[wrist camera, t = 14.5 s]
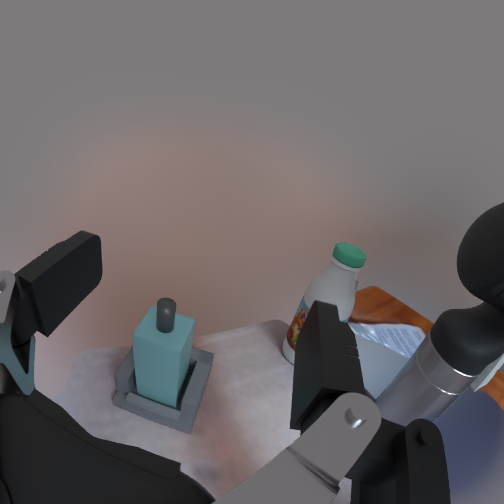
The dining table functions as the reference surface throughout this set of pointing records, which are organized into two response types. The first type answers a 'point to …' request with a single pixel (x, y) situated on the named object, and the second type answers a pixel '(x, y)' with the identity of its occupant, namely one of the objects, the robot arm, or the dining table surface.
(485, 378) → the skincare box
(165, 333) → the plug
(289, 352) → the milk bottle
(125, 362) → the socket
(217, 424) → the dining table surface
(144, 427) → the dining table surface
